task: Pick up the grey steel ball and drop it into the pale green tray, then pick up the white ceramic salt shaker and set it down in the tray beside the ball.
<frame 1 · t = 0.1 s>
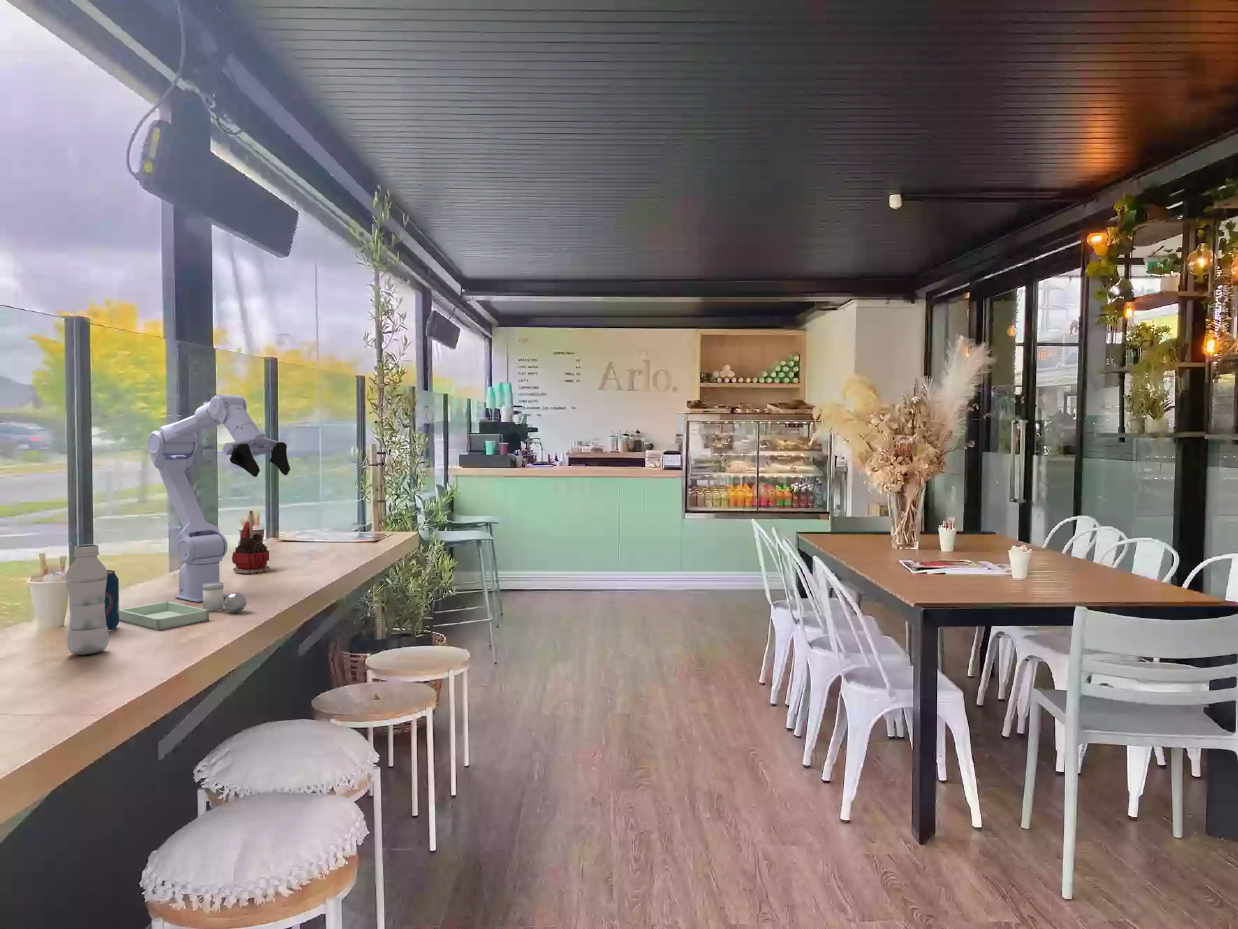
hand: (272, 472, 183), 32 cm above the countertop, tool tilted 50°, fingers open, 7 cm apart
cake: (251, 572, 236), on the countertop
soda can: (99, 631, 166), on the countertop
ball: (235, 602, 183), point 2 cm above the countertop
shaker: (213, 609, 186), on the countertop
plastic bottle: (88, 654, 149), on the countertop
tray: (163, 620, 175), on the countertop
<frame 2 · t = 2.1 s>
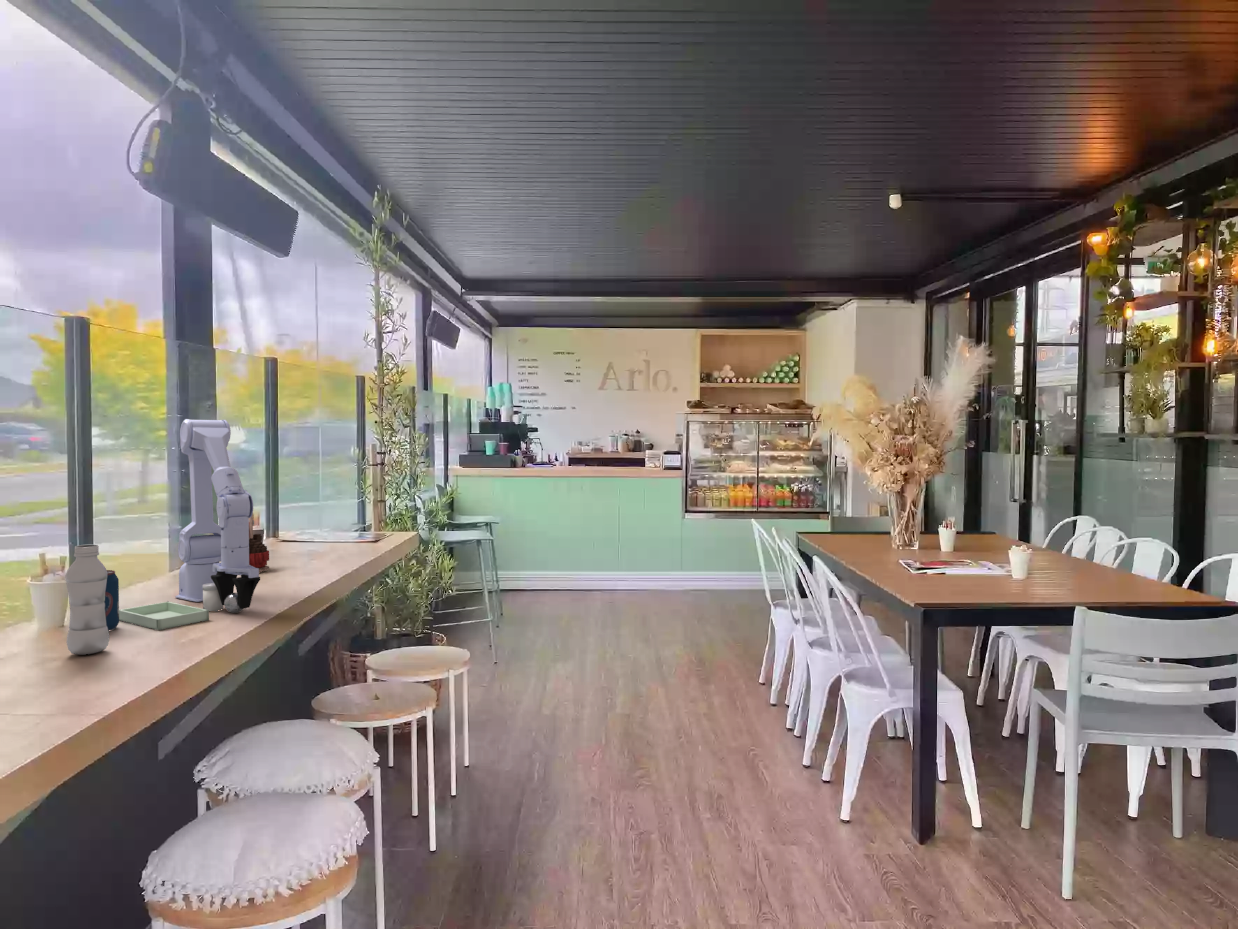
hand: (235, 606, 183), 1 cm above the countertop, tool pointing down, fingers open, 6 cm apart
shaker: (213, 610, 186), on the countertop, touching gripper
everything else where it was.
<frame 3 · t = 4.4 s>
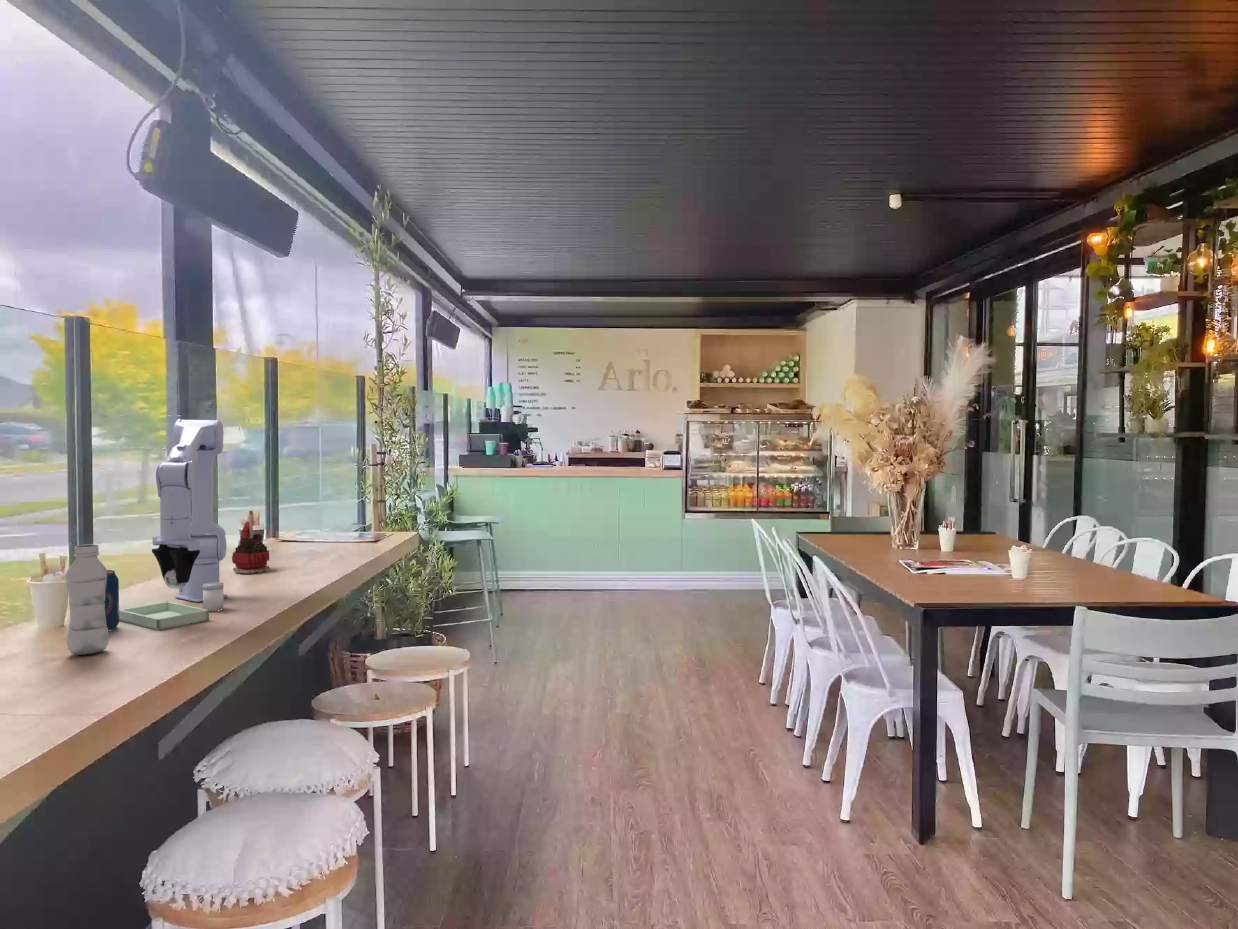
hand: (176, 581, 173), 9 cm above the countertop, tool pointing down, fingers closed on ball, 5 cm apart
ball: (176, 578, 173), point 10 cm above the countertop, tilted 5°, touching gripper
shaker: (213, 609, 186), on the countertop
everything else where it was.
when the fingers open (3 cm above the countertop, at t = 6.1 s): ball stays where it is, resting on tray.
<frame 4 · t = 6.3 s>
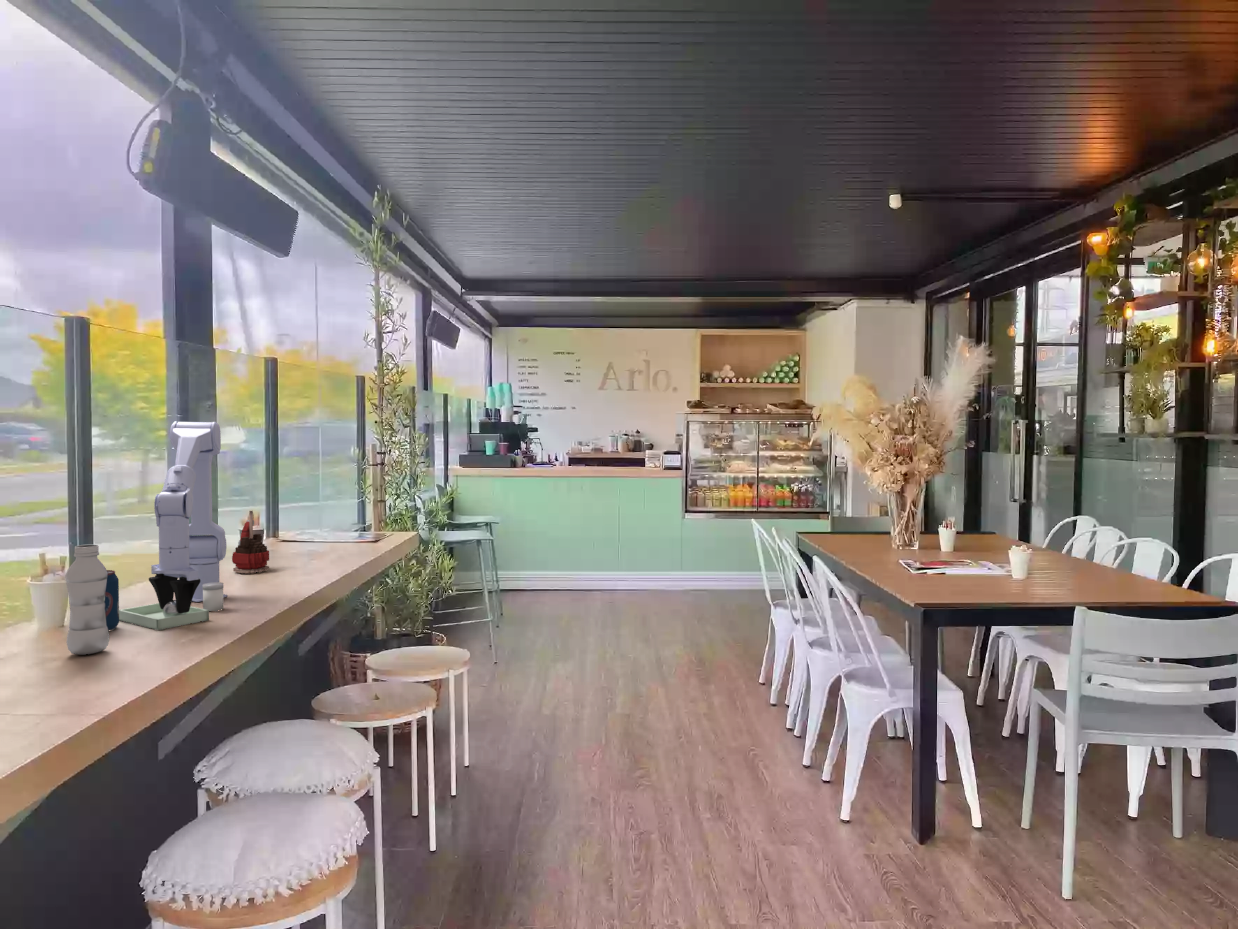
hand: (174, 610, 173), 3 cm above the countertop, tool pointing down, fingers open, 6 cm apart
ball: (175, 610, 173), point 3 cm above the countertop, tilted 5°, touching tray
everything else where it was.
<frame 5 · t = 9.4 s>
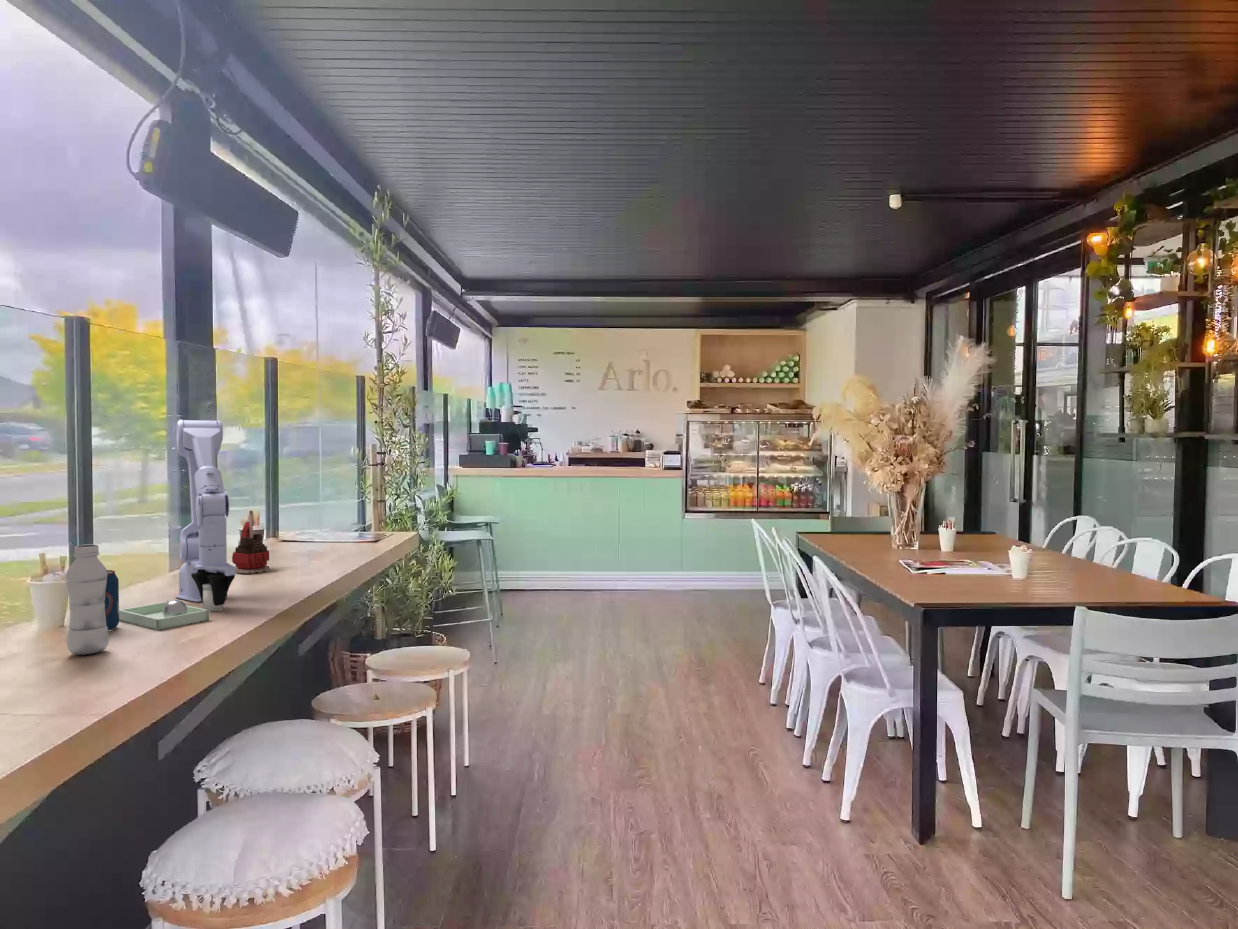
hand: (213, 603, 186), 1 cm above the countertop, tool pointing down, fingers closed on shaker, 4 cm apart
shaker: (213, 609, 186), on the countertop, touching gripper
everything else where it was.
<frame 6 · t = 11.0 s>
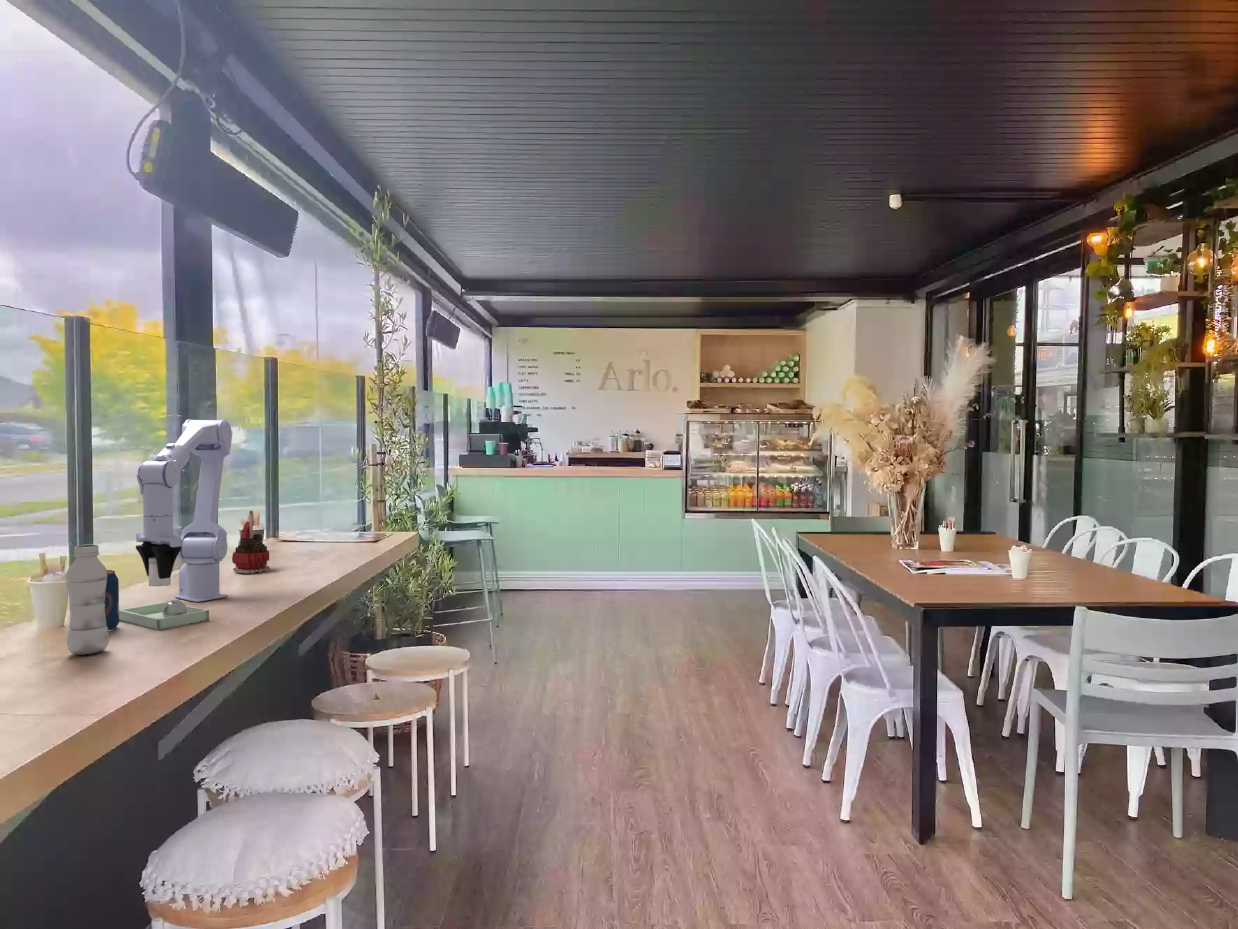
hand: (158, 577, 177), 9 cm above the countertop, tool pointing down, fingers closed on shaker, 4 cm apart
shaker: (159, 584, 178), point 7 cm above the countertop, touching gripper
everything else where it was.
when the fingers open (3 cm above the countertop, at t = 12.7 s): shaker stays where it is, resting on tray.
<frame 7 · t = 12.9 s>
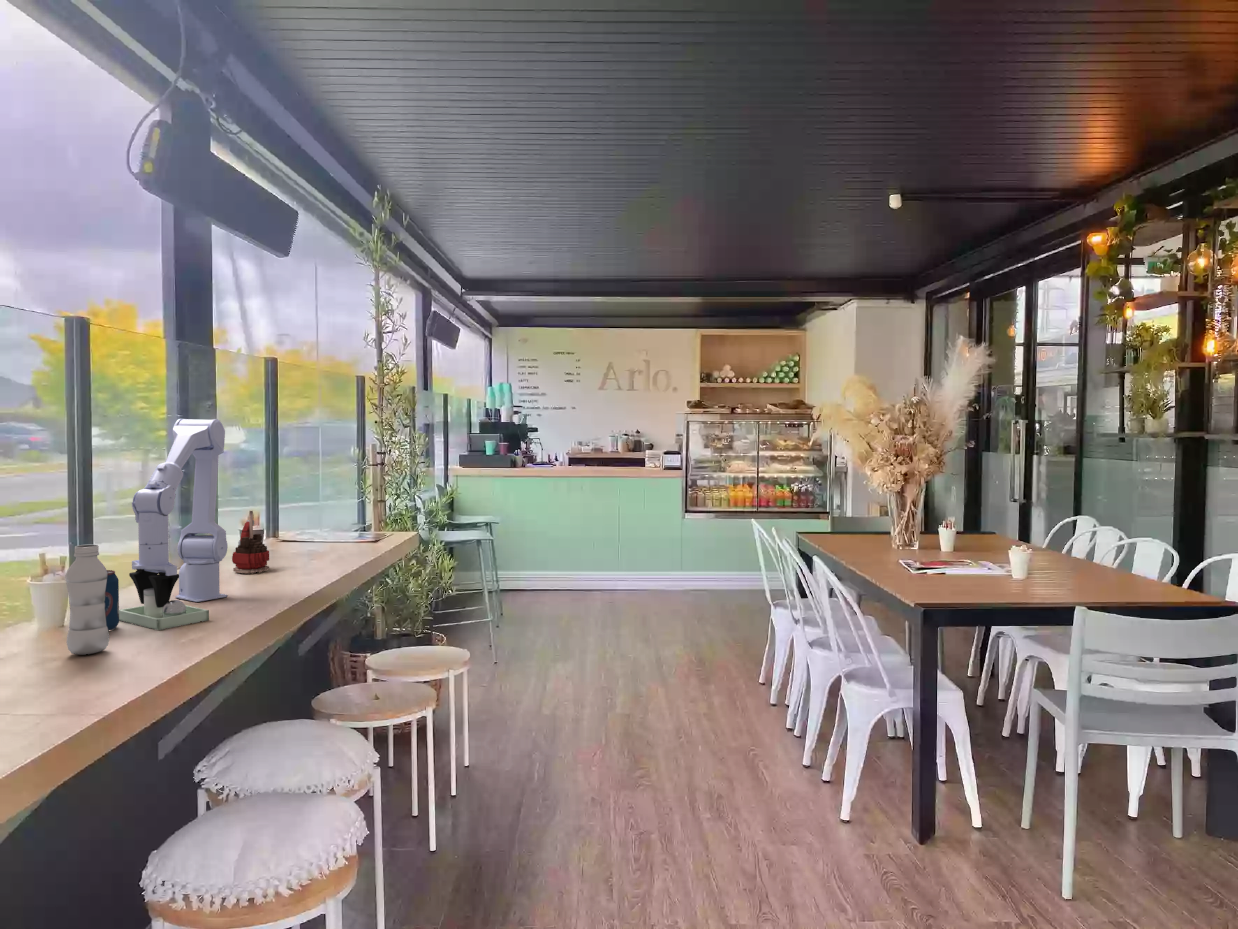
hand: (154, 604, 177), 3 cm above the countertop, tool pointing down, fingers open, 6 cm apart
shaker: (155, 616, 177), resting on tray
everything else where it was.
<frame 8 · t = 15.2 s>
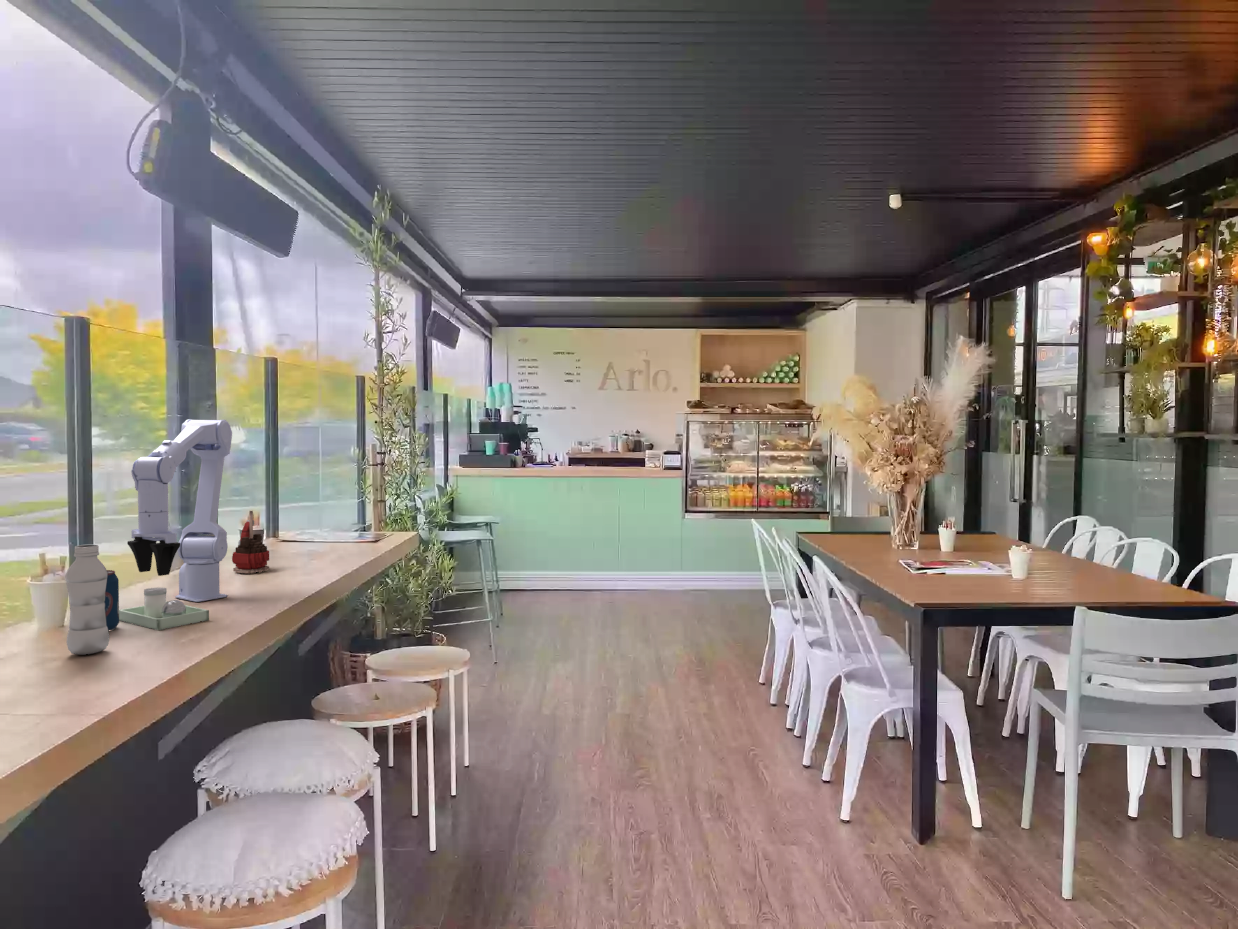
hand: (154, 573, 177), 10 cm above the countertop, tool pointing down, fingers open, 7 cm apart
nothing on the countertop moved.
at the end: ball inside the target area on the tray (4.3 cm from its centre), point 2.6 cm above the tray's base; shaker inside the target area on the tray (3.5 cm from its centre), point 0.4 cm above the tray's base; shaker tilted 1° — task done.
